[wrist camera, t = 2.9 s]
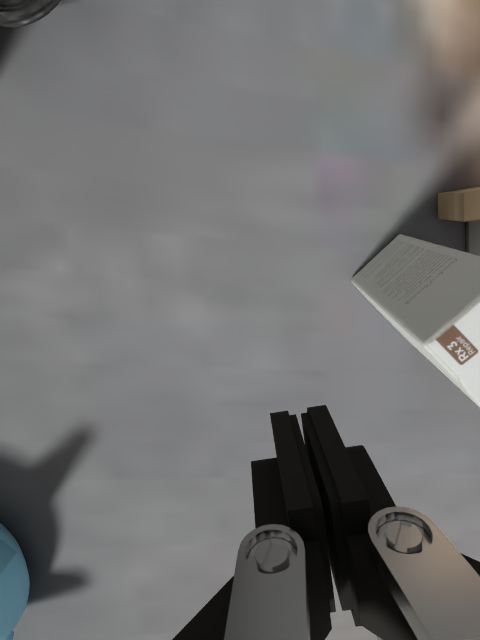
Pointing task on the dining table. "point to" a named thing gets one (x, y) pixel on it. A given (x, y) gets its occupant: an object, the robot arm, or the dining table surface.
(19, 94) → the dining table surface
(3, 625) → the teapot
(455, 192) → the wooden tray
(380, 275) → the skincare box
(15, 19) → the black and silver appliance
